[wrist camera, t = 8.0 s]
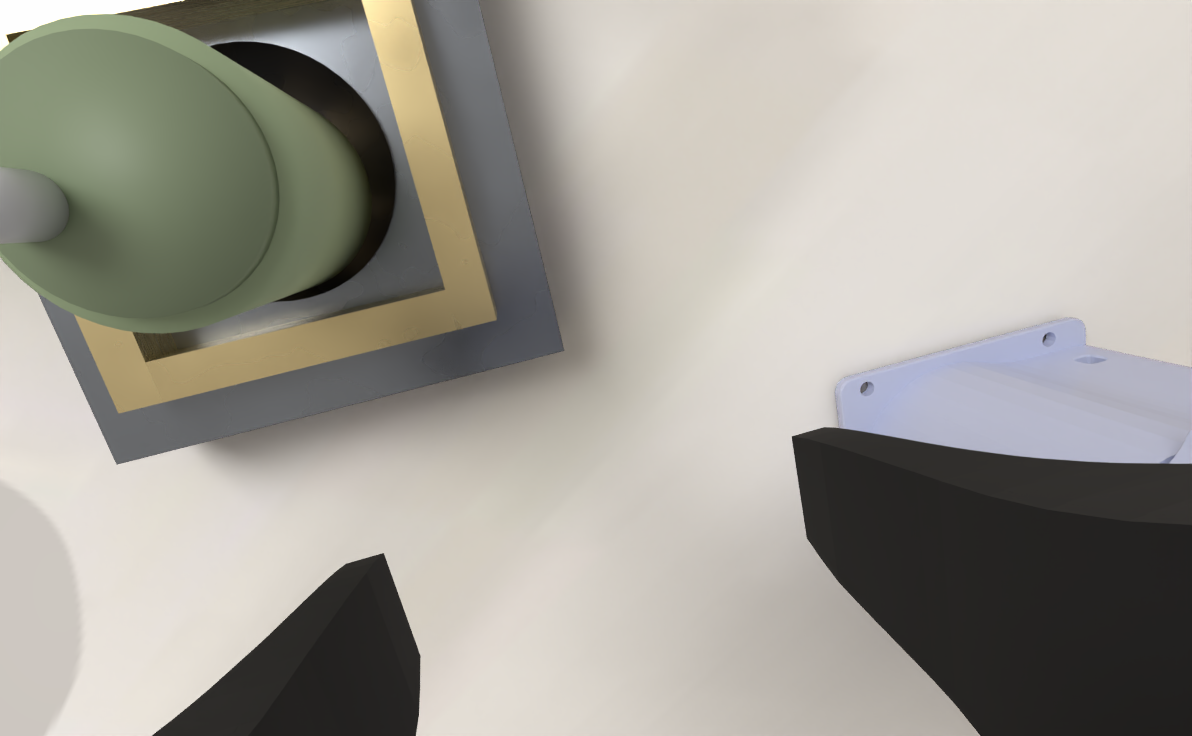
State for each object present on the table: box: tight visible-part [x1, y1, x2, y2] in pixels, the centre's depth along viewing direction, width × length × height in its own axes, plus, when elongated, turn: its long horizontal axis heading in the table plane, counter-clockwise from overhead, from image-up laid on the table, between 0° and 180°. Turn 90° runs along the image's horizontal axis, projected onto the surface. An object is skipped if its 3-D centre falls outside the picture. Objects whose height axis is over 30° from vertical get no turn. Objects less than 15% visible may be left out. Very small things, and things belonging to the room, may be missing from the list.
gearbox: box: [0, 0, 564, 464], centre depth 16 cm, size 15×12×4 cm
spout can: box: [0, 14, 372, 334], centre depth 11 cm, size 5×5×8 cm
